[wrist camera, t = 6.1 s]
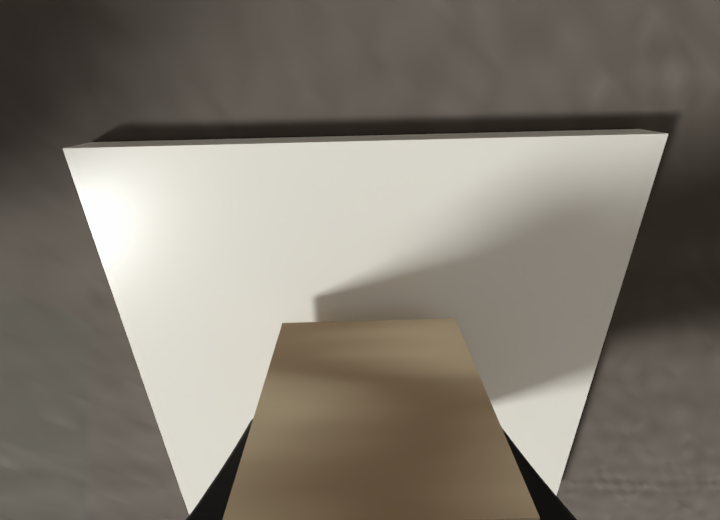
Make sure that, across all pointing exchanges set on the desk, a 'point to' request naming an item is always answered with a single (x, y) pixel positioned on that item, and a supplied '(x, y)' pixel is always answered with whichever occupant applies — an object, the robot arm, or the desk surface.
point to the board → (366, 263)
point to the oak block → (376, 430)
